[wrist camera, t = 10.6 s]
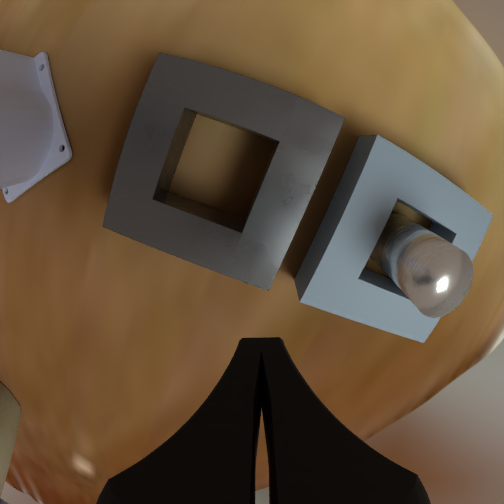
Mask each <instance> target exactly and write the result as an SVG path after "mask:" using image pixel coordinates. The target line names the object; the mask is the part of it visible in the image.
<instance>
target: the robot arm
mask: <svg viewBox="0 0 504 504" xmlns="http://www.w3.org/2000/svg"><path fill="white" fill-rule="evenodd" d="M43 66H44V69H43V70H42V68H43ZM63 145H64V146H65V149H64V151H63V150H62V147H63ZM71 157H72V150H71V147H70V144H69V141H68V137H67V134H66V131H65V127H64V124H63V120H62V117H61V113H60V109H59V105H58V102H57V97H56V93H55V89H54V85H53V80H52V76H51V71H50V66H49V61H48V55H47V53H46V52H40V53H39V54H38V55H36V56H35V57H34V58H33V57H30V56H26V55H22V54H18V53H14V52H10V51H5V50H1V49H0V189H2V190H3V193H4V197H5V200H6V201H7V202H8V203H10V202H13V201H14V200H15V199H16V198H18V197H19V196H20V195H21V194H23V193H24V192H25V191H27V190H28V189H29V188H31V187H32V186H33V185H35V184H36V183H37V182H39V181H40V180H42V179H43V178H44V177H46V176H47V175H49V174H50V173H51V172H53V171H54V170H56V169H57V168H59V167H60V166H62V165H63V164H65V163H66V162H68V161H69V160H70V159H71ZM261 408H262V413H263V421H264V429H265V437H266V445H267V453H268V463H269V498H270V501H269V503H270V504H431V503H430V500H429V497H428V494H427V492H426V490H425V488H424V486H423V484H422V482H421V481H420V479H419V477H418V475H417V474H415V473H413V472H411V471H409V470H407V469H405V468H403V467H401V466H400V465H398V464H396V463H394V462H393V461H391V460H389V459H387V458H386V457H384V456H383V455H381V454H380V453H378V452H377V451H375V450H374V449H373V448H371V447H370V446H368V445H367V444H366V443H365V442H363V441H362V440H361V439H360V438H358V437H357V436H356V435H355V434H353V433H352V432H351V431H350V430H349V429H347V428H346V427H345V426H344V425H343V424H342V423H341V422H340V421H339V420H338V419H337V418H336V417H335V416H334V415H333V414H332V413H331V412H330V411H329V410H328V409H327V408H326V407H325V405H324V404H323V403H322V402H321V401H320V400H319V398H318V397H317V396H316V395H315V393H314V392H313V391H312V389H311V388H310V387H309V385H308V384H307V383H306V381H305V380H304V378H303V377H302V375H301V374H300V372H299V371H298V369H297V368H296V366H295V364H294V363H293V361H292V359H291V357H290V355H289V353H288V352H287V349H286V347H285V345H284V342H283V340H282V339H281V338H280V337H273V338H242V339H241V340H240V341H239V344H238V347H237V349H236V351H235V354H234V356H233V358H232V360H231V362H230V364H229V365H228V367H227V369H226V370H225V372H224V374H223V376H222V377H221V379H220V380H219V382H218V383H217V385H216V386H215V388H214V389H213V391H212V392H211V393H210V395H209V396H208V398H207V399H206V400H205V401H204V403H203V404H202V405H201V406H200V408H199V409H198V410H197V411H196V412H195V413H194V415H193V416H192V417H191V418H190V419H189V420H188V421H187V422H186V423H185V424H184V425H183V426H182V427H181V428H180V429H179V430H178V431H177V432H176V433H175V434H174V435H173V436H171V437H170V438H169V439H168V440H167V441H166V442H164V443H163V444H162V445H161V446H159V447H158V448H157V449H155V450H154V451H153V452H151V453H150V454H149V455H148V456H146V457H145V458H143V459H142V460H140V461H139V462H137V463H136V464H134V465H133V466H131V467H129V468H128V469H126V470H124V471H122V472H121V473H119V474H117V475H116V476H114V477H112V478H110V479H108V481H107V483H106V485H105V487H104V488H103V490H102V492H101V494H100V496H99V498H98V501H97V503H96V504H255V468H256V455H257V446H258V437H259V427H260V418H261ZM0 504H8V503H7V502H5V501H4V500H2V499H1V498H0Z"/></svg>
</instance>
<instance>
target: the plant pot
mask: <svg viewBox="0 0 504 504" xmlns="http://www.w3.org/2000/svg"><path fill="white" fill-rule="evenodd" d="M20 414H21V409H20V406H19V404H18V402H17V400H16V399H15V398H14V396H13V395H12V394H11V392H10V391H9V390H8V389H7V388H6V387H5V386H4V385H3V384H2V383H1V382H0V496H1V492H2V489H3V486H4V482H5V479H6V476H7V472H8V468H9V465H10V461H11V457H12V452H13V448H14V444H15V439H16V435H17V429H18V424H19V419H20Z"/></svg>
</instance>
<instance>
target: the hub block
mask: <svg viewBox="0 0 504 504" xmlns="http://www.w3.org/2000/svg"><path fill="white" fill-rule="evenodd" d="M396 201H399V202H401V203H403V204H404V205H406V206H408V207H410V208H411V209H413V210H415V211H416V212H418V213H420V214H422V215H423V216H425V217H427V218H428V219H430V220H431V221H433V223H432V225H431V227H430V229H429V230H430V231H431V232H433V233H435V234H437V235H438V236H440V237H442V238H443V239H445V240H447V241H448V242H450V243H452V244H453V245H455V246H457V247H458V248H460V249H461V250H463V251H464V252H466V253H467V254H468V256H469V257H470V259H471V262H472V261H473V259H474V257H475V255H476V253H477V251H478V249H479V247H480V244H481V242H482V240H483V238H484V236H485V233H486V231H487V229H488V226H489V224H490V222H491V219H492V217H493V214H491V213H490V212H489V211H488V210H487V209H485V208H484V207H483V206H482V205H481V204H479V203H478V202H477V201H476V200H474V199H473V198H472V197H471V196H469V195H468V194H467V193H465V192H464V191H463V190H461V189H460V188H459V187H457V186H456V185H455V184H453V183H452V182H451V181H449V180H448V179H446V178H445V177H444V176H442V175H441V174H439V173H438V172H437V171H435V170H434V169H432V168H431V167H429V166H428V165H426V164H425V163H423V162H422V161H420V160H419V159H417V158H415V157H414V156H412V155H411V154H409V153H408V152H406V151H404V150H403V149H401V148H399V147H398V146H396V145H394V144H393V143H391V142H389V141H388V140H386V139H384V138H382V137H381V136H379V135H368V136H359V138H358V140H357V143H356V145H355V147H354V150H353V152H352V154H351V157H350V159H349V162H348V164H347V166H346V169H345V171H344V173H343V175H342V178H341V180H340V182H339V185H338V187H337V189H336V191H335V194H334V196H333V198H332V200H331V203H330V205H329V207H328V209H327V211H326V214H325V216H324V218H323V220H322V222H321V224H320V227H319V229H318V231H317V233H316V235H315V237H314V239H313V242H312V244H311V246H310V248H309V250H308V252H307V254H306V256H305V258H304V260H303V262H302V265H301V267H300V269H299V271H298V273H297V275H296V277H295V279H294V281H295V285H296V289H297V293H298V297H299V301H300V302H302V303H304V304H307V305H310V306H313V307H316V308H319V309H322V310H325V311H328V312H330V313H333V314H336V315H339V316H342V317H345V318H348V319H351V320H354V321H357V322H360V323H363V324H366V325H369V326H372V327H375V328H378V329H381V330H384V331H388V332H391V333H394V334H397V335H400V336H403V337H406V338H409V339H413V340H416V341H419V342H422V343H424V342H425V340H426V339H427V338H428V336H429V335H430V333H431V332H432V330H433V329H434V327H435V326H436V324H437V322H438V321H439V319H440V318H441V317H436V318H432V317H427V316H425V315H423V314H422V313H421V312H420V311H419V310H418V309H417V307H416V306H415V305H414V304H413V303H412V302H411V300H410V299H409V298H408V297H407V296H406V295H405V294H404V292H403V291H402V290H401V289H400V288H399V287H398V286H397V285H396V283H395V282H394V281H393V280H391V279H389V278H387V277H384V276H382V275H380V274H377V273H375V272H373V271H370V270H368V269H366V268H364V266H365V265H366V263H367V261H368V259H369V257H370V255H371V253H372V251H373V249H374V247H375V245H376V243H377V241H378V239H379V237H380V235H381V233H382V231H383V229H384V227H385V225H386V223H387V220H388V218H389V216H390V214H391V212H392V210H393V207H394V205H395V203H396Z"/></svg>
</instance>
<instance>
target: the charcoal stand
mask: <svg viewBox="0 0 504 504" xmlns="http://www.w3.org/2000/svg"><path fill="white" fill-rule="evenodd" d="M196 114H199V115H202V116H205V117H208V118H211V119H214V120H217V121H220V122H222V123H225V124H228V125H231V126H234V127H236V128H239V129H242V130H245V131H247V132H250V133H253V134H255V135H258V136H260V137H263V138H265V139H268V140H270V141H273V142H275V143H276V145H275V147H274V149H273V152H272V154H271V157H270V159H269V161H268V164H267V166H266V169H265V171H264V173H263V176H262V178H261V181H260V183H259V186H258V188H257V190H256V193H255V195H254V198H253V200H252V203H251V205H250V208H249V210H248V213H247V215H246V218H245V220H244V219H241V218H239V217H236V216H234V215H231V214H228V213H226V212H223V211H221V210H218V209H215V208H213V207H210V206H207V205H205V204H202V203H199V202H197V201H194V200H191V199H189V198H186V197H183V196H181V195H178V194H175V193H172V192H170V191H169V188H170V185H171V182H172V179H173V176H174V173H175V170H176V168H177V165H178V162H179V159H180V156H181V153H182V151H183V148H184V145H185V143H186V140H187V137H188V135H189V132H190V129H191V127H192V124H193V122H194V119H195V117H196ZM344 119H345V118H344V117H342V116H340V115H338V114H336V113H334V112H332V111H330V110H328V109H326V108H324V107H321V106H319V105H317V104H315V103H313V102H310V101H308V100H306V99H304V98H301V97H299V96H296V95H294V94H292V93H289V92H287V91H284V90H282V89H279V88H277V87H274V86H271V85H269V84H266V83H263V82H261V81H258V80H255V79H252V78H249V77H246V76H243V75H241V74H237V73H234V72H231V71H228V70H225V69H222V68H218V67H215V66H211V65H208V64H204V63H201V62H197V61H193V60H189V59H185V58H181V57H177V56H173V55H168V54H164V53H159V55H158V57H157V59H156V62H155V64H154V66H153V68H152V71H151V73H150V75H149V78H148V80H147V82H146V85H145V87H144V90H143V92H142V95H141V97H140V100H139V103H138V105H137V108H136V111H135V113H134V116H133V119H132V122H131V125H130V128H129V131H128V134H127V137H126V140H125V143H124V146H123V149H122V152H121V156H120V159H119V162H118V166H117V169H116V173H115V177H114V180H113V184H112V188H111V192H110V196H109V200H108V204H107V208H106V213H105V217H104V222H103V227H104V228H107V229H109V230H112V231H114V232H117V233H119V234H121V235H124V236H126V237H129V238H131V239H134V240H136V241H139V242H141V243H144V244H146V245H149V246H151V247H154V248H156V249H159V250H161V251H164V252H166V253H169V254H171V255H174V256H177V257H179V258H182V259H184V260H187V261H189V262H192V263H195V264H197V265H200V266H202V267H205V268H208V269H210V270H213V271H216V272H218V273H221V274H224V275H226V276H229V277H232V278H234V279H237V280H240V281H242V282H245V283H248V284H251V285H253V286H256V287H259V288H262V289H264V290H267V291H269V288H270V286H271V284H272V282H273V280H274V278H275V276H276V274H277V271H278V269H279V267H280V265H281V263H282V261H283V258H284V256H285V254H286V252H287V250H288V248H289V245H290V243H291V241H292V239H293V237H294V234H295V232H296V230H297V228H298V226H299V223H300V221H301V219H302V217H303V215H304V212H305V210H306V208H307V206H308V203H309V201H310V199H311V197H312V194H313V192H314V190H315V187H316V185H317V183H318V181H319V178H320V176H321V174H322V171H323V169H324V167H325V164H326V162H327V160H328V157H329V155H330V153H331V150H332V148H333V146H334V143H335V141H336V138H337V136H338V134H339V131H340V129H341V126H342V124H343V122H344Z"/></svg>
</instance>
